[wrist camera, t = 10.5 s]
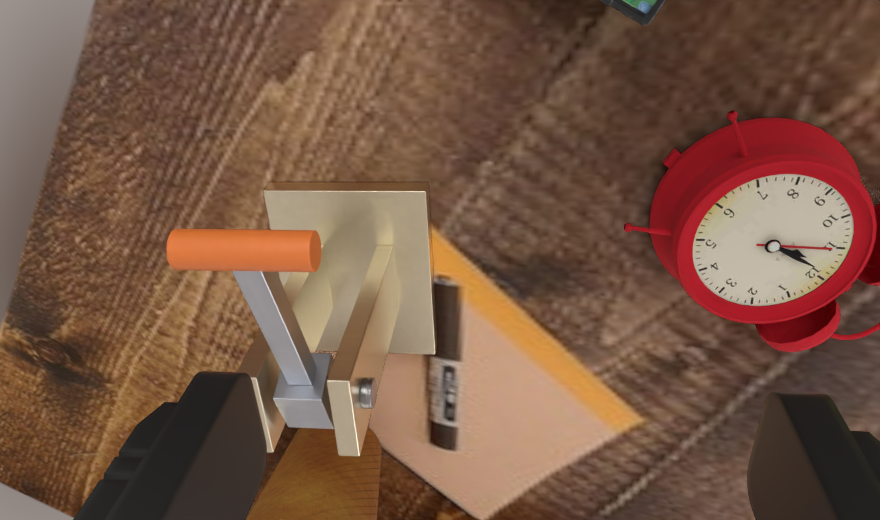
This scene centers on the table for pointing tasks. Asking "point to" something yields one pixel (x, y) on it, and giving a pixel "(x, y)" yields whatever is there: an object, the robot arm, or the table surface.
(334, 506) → the disposable coffee cup
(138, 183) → the table surface
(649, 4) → the disk drive
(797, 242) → the alarm clock
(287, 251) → the lever
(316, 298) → the bracket
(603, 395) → the table surface
